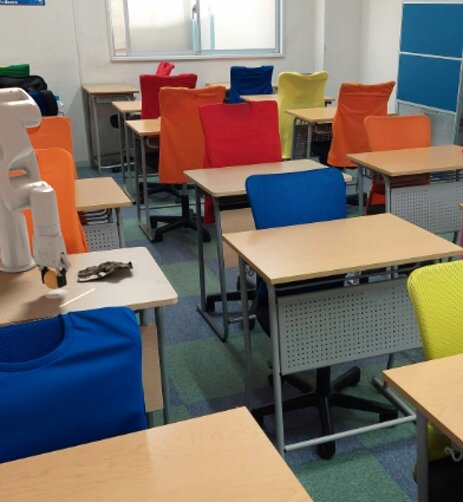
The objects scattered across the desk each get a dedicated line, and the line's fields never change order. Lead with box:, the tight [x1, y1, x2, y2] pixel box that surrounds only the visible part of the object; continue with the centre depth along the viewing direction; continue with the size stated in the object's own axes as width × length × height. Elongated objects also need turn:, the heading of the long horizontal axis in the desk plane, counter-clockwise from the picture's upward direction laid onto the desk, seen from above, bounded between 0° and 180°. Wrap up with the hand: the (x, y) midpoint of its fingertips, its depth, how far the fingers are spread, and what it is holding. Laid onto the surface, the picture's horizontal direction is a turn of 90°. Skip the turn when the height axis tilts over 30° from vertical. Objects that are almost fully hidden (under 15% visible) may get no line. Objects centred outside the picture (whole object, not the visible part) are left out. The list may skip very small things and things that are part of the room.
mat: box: [44, 287, 96, 308], centre depth 188 cm, size 20×16×1 cm
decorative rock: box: [77, 260, 134, 282], centre depth 205 cm, size 19×6×15 cm
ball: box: [44, 268, 59, 290], centre depth 189 cm, size 6×6×6 cm
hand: (54, 283), depth 189 cm, fingers closed on ball, 5 cm apart
